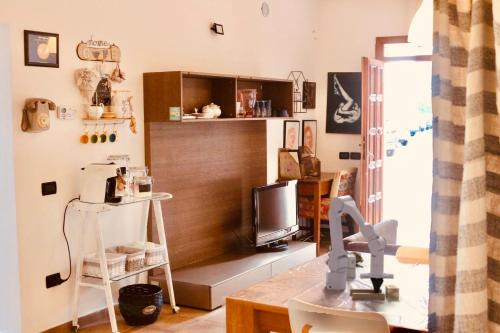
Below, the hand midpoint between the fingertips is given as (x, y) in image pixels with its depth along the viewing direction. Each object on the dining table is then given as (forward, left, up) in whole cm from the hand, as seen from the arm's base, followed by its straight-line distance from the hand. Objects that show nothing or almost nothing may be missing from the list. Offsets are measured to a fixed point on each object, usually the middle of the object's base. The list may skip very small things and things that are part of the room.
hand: (376, 294), depth 271 cm
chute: (0, 0, -2) cm, 2 cm away
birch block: (+7, 0, -1) cm, 7 cm away
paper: (-4, +67, -2) cm, 68 cm away
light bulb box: (-9, +38, -2) cm, 39 cm away
